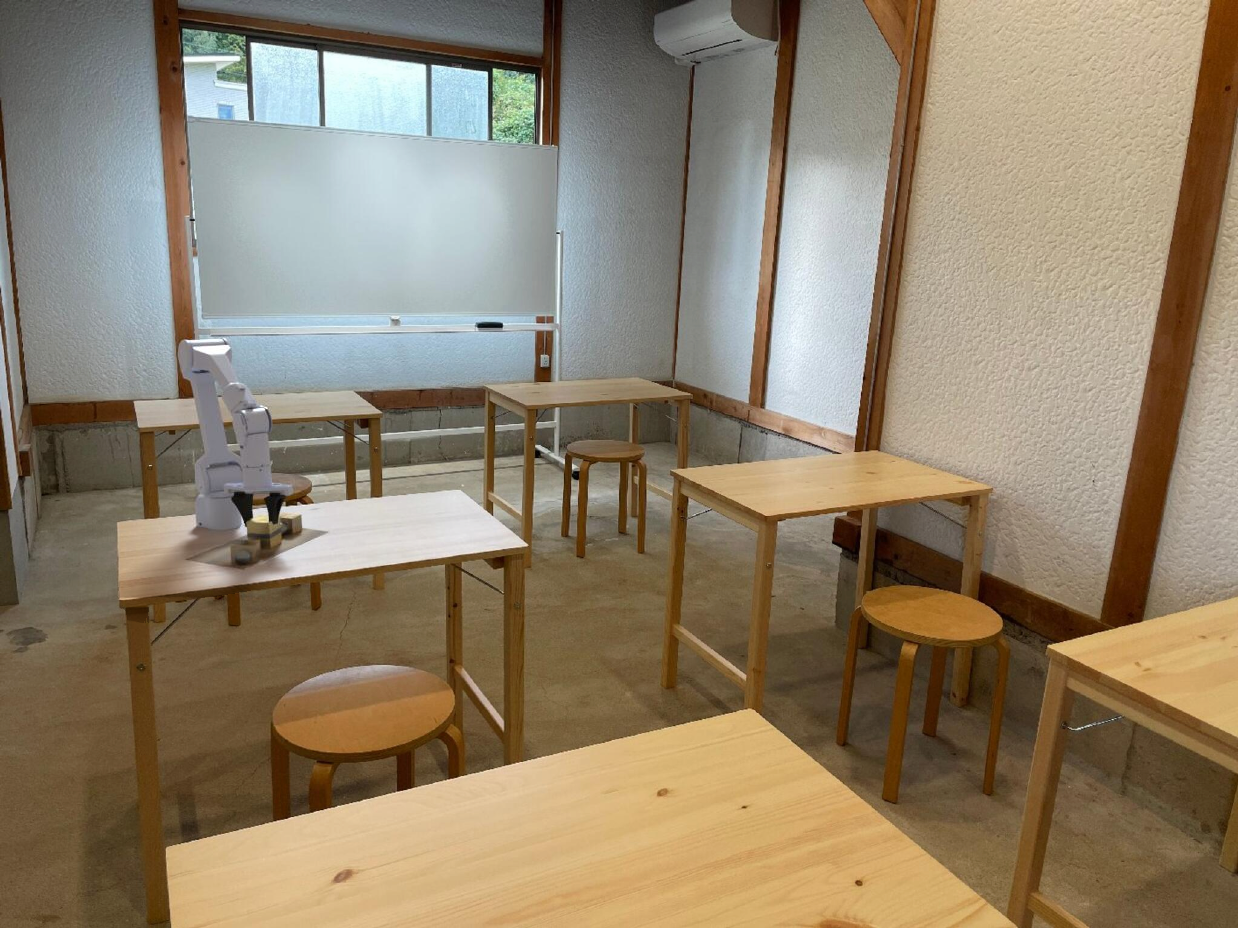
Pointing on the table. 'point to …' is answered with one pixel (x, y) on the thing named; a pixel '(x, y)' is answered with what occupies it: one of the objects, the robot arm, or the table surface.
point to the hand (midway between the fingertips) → (261, 526)
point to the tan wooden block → (264, 531)
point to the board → (223, 552)
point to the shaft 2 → (290, 523)
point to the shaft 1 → (245, 551)
